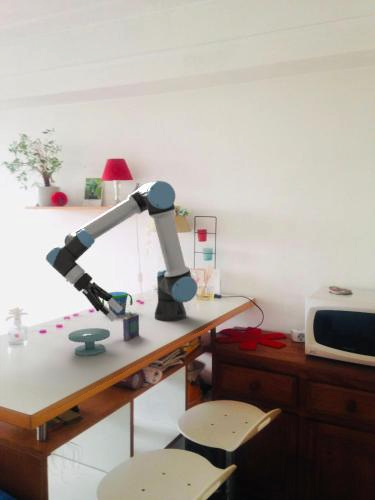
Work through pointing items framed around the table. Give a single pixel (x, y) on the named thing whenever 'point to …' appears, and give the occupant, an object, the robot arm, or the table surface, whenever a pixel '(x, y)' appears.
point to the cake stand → (89, 340)
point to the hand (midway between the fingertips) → (117, 314)
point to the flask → (130, 326)
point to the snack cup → (120, 301)
